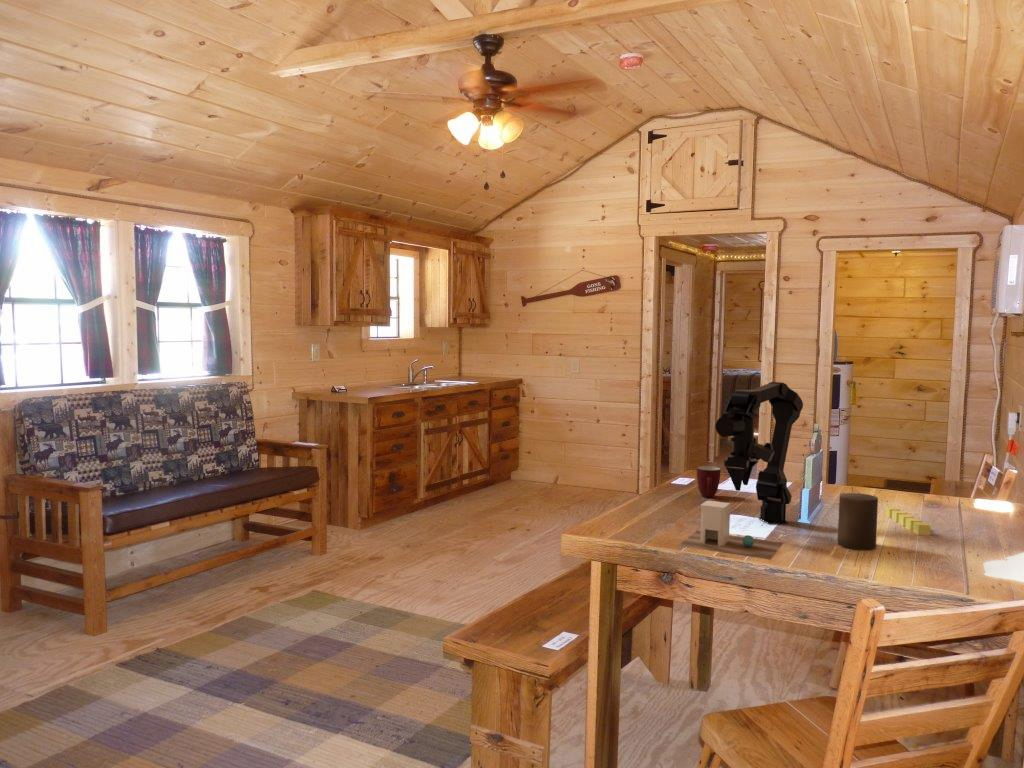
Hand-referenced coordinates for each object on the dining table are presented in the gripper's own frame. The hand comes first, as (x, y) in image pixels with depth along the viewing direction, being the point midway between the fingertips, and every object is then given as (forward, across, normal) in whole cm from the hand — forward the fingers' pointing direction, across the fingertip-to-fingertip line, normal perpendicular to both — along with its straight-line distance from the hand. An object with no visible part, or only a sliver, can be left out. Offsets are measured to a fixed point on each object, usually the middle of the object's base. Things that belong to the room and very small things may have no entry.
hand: (741, 487), depth 226 cm
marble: (+11, -16, -6) cm, 20 cm away
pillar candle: (+13, +2, -31) cm, 34 cm away
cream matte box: (+12, -16, +3) cm, 21 cm away
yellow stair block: (+14, +36, -43) cm, 58 cm away
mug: (+13, +42, +21) cm, 48 cm away
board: (+13, -16, -1) cm, 21 cm away
